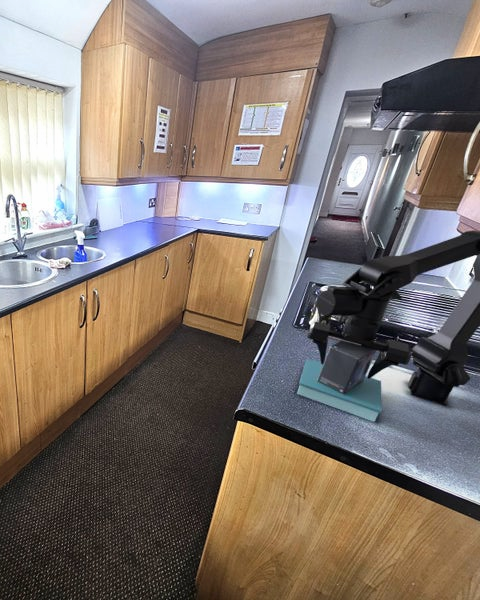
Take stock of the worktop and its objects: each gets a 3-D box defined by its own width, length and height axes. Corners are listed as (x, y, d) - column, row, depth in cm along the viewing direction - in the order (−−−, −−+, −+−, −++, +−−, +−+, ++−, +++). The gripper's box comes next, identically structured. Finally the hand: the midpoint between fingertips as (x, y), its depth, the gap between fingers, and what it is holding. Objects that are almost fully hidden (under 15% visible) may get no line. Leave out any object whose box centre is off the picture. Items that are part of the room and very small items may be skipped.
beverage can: (313, 329, 115) (323, 298, 110) (305, 322, 120) (314, 292, 115) (330, 330, 114) (341, 299, 109) (321, 323, 119) (331, 292, 114)
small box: (345, 396, 78) (360, 359, 74) (315, 381, 83) (328, 346, 79) (365, 381, 83) (380, 346, 78) (336, 368, 88) (348, 334, 84)
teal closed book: (375, 392, 84) (381, 380, 83) (376, 423, 75) (382, 411, 73) (303, 368, 94) (307, 358, 92) (295, 394, 84) (299, 382, 82)
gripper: (418, 313, 75) (392, 369, 82) (321, 294, 86) (305, 344, 93) (423, 332, 67) (394, 392, 74) (316, 308, 78) (299, 362, 85)
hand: (344, 370), depth 81 cm, fingers open, 9 cm apart
